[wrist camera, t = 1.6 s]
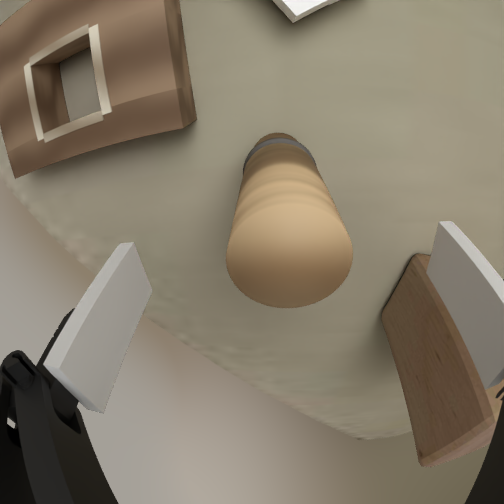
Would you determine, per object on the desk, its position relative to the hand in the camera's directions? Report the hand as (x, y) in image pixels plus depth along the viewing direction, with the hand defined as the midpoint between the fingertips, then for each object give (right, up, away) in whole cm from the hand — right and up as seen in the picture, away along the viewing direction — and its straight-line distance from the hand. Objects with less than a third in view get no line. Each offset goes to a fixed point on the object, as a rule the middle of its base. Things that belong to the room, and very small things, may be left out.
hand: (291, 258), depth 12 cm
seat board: (-16, +17, +5) cm, 24 cm away
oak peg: (+1, +8, +11) cm, 13 cm away
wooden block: (+19, -4, +18) cm, 27 cm away
